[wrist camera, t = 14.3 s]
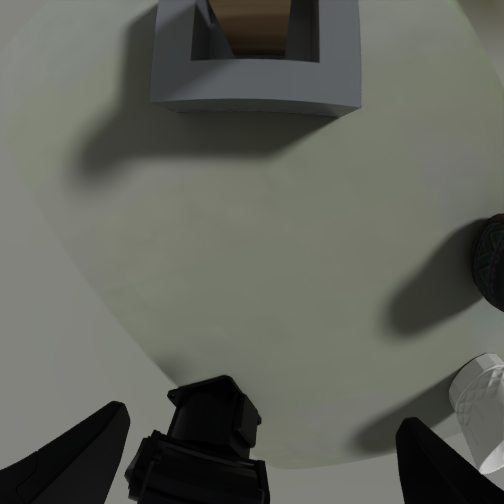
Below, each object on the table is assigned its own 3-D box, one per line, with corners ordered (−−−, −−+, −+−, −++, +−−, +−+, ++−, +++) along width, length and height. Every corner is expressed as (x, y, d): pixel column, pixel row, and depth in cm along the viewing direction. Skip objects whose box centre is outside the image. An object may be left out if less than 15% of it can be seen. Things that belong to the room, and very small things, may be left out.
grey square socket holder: (339, 117, 17) (361, 107, 12) (178, 112, 17) (149, 102, 13) (337, -15, 14) (352, -50, 9) (188, -17, 14) (168, -51, 10)
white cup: (500, 382, 23) (539, 440, 14) (444, 416, 25) (475, 484, 15) (503, 333, 21) (558, 395, 12) (440, 373, 23) (483, 452, 13)
